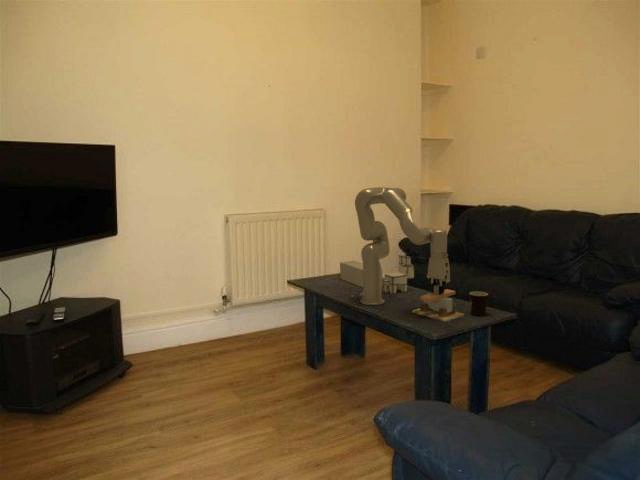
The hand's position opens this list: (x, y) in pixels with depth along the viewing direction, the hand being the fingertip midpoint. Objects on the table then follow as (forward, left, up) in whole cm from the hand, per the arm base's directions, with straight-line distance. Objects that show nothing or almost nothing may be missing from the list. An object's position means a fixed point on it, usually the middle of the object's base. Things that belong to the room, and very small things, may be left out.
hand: (438, 292), depth 246 cm
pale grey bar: (0, 0, -8) cm, 8 cm away
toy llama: (-43, +18, -11) cm, 48 cm away
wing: (0, 0, -4) cm, 4 cm away
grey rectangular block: (-74, +17, -11) cm, 77 cm away
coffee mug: (+12, +16, -11) cm, 23 cm away
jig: (0, 0, -11) cm, 11 cm away
